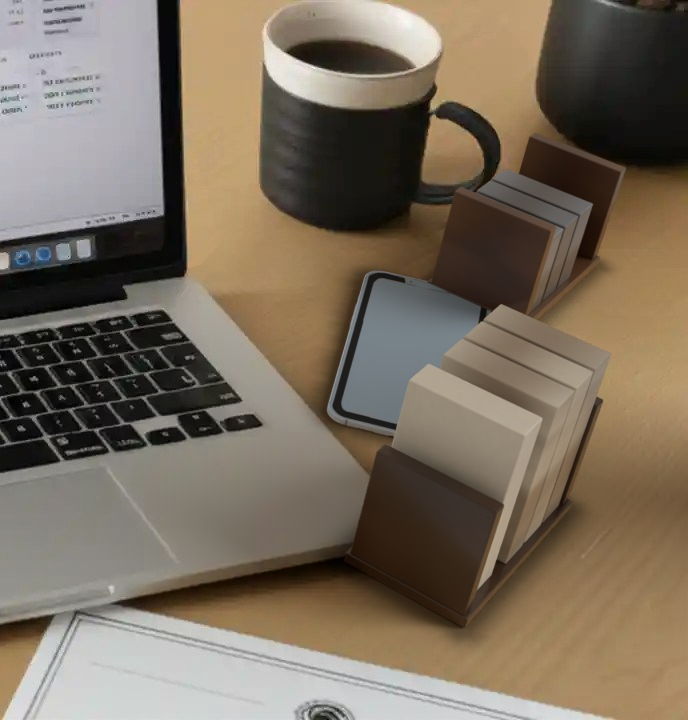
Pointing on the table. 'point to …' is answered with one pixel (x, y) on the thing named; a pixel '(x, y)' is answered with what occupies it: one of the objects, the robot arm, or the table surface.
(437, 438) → the beige rectangular block
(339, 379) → the smartphone
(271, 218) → the table surface
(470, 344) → the brown book rack
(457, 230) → the brown coaster holder
